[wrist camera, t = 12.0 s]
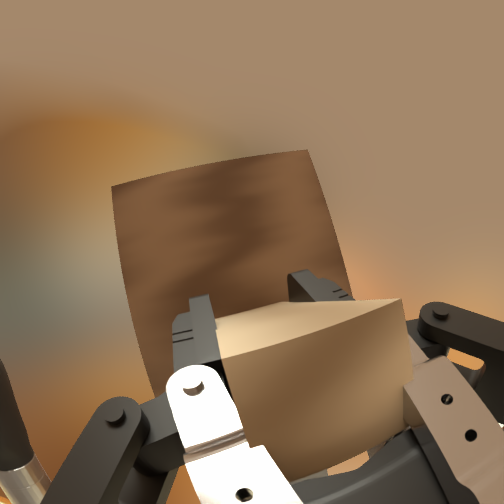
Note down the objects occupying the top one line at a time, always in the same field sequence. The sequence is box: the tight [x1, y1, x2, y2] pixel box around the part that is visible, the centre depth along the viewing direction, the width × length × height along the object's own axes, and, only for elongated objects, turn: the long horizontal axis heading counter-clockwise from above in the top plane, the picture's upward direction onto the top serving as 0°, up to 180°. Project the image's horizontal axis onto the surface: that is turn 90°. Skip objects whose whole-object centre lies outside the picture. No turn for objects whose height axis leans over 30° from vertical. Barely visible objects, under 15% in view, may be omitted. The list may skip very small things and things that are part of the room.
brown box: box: [111, 150, 414, 483], centre depth 10 cm, size 10×13×10 cm
